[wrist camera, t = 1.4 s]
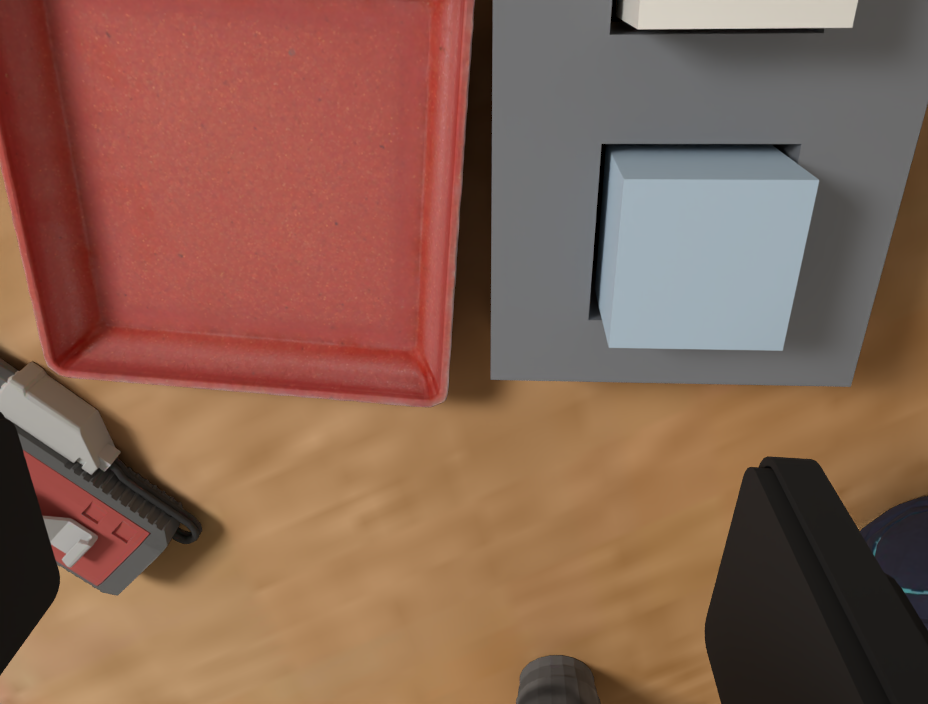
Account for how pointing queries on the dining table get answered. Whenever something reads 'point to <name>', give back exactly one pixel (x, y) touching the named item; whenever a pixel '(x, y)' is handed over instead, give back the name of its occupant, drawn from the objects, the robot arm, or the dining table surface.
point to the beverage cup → (557, 682)
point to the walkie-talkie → (88, 485)
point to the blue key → (700, 245)
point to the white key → (736, 14)
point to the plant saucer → (240, 190)
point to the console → (693, 122)
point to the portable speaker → (904, 549)
